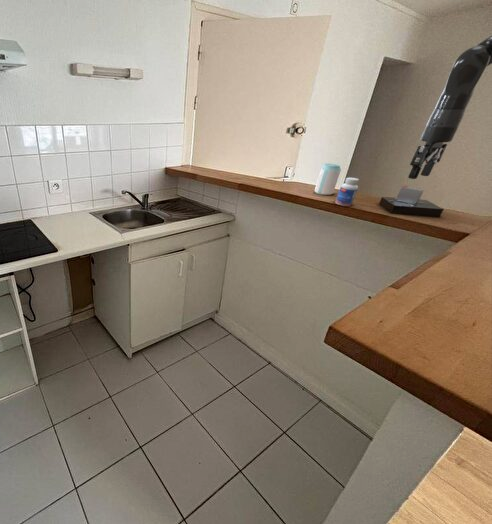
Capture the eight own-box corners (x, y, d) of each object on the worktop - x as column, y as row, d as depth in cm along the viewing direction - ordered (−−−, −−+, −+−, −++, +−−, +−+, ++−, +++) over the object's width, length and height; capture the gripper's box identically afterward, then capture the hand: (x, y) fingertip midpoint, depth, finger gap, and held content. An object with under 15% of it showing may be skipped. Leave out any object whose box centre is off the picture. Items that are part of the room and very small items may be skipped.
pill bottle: (333, 203, 110) (341, 178, 105) (337, 201, 113) (346, 176, 108) (349, 207, 106) (358, 181, 101) (353, 204, 109) (363, 178, 104)
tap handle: (417, 204, 99) (424, 189, 97) (414, 204, 99) (422, 189, 96) (397, 199, 104) (404, 185, 101) (395, 200, 103) (401, 185, 101)
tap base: (422, 207, 105) (426, 199, 104) (439, 217, 96) (444, 208, 94) (378, 204, 109) (382, 196, 107) (391, 213, 100) (394, 205, 98)
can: (320, 190, 126) (328, 162, 120) (336, 194, 121) (345, 165, 115) (310, 192, 123) (318, 164, 117) (326, 196, 118) (336, 167, 112)
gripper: (447, 126, 83) (421, 182, 91) (468, 124, 89) (442, 176, 97) (416, 125, 89) (394, 177, 97) (438, 123, 95) (415, 172, 103)
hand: (418, 177), depth 97 cm, fingers open, 8 cm apart
